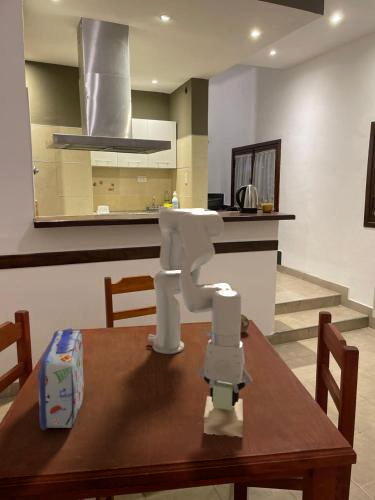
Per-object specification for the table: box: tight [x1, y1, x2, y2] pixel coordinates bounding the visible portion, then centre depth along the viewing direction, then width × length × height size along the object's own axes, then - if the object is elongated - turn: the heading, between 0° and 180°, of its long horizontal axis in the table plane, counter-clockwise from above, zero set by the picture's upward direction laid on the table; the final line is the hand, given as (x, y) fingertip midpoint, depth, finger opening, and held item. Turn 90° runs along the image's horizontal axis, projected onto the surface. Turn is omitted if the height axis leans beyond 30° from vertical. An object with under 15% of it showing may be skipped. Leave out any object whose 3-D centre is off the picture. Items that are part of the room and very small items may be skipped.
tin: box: [240, 313, 250, 334], centre depth 166 cm, size 15×3×8 cm, turn 97°
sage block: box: [213, 381, 233, 410], centre depth 100 cm, size 5×5×6 cm
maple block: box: [203, 395, 244, 438], centre depth 101 cm, size 10×10×5 cm
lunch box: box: [37, 328, 85, 431], centre depth 107 cm, size 28×10×22 cm, turn 12°
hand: (224, 400), depth 101 cm, fingers closed on sage block, 4 cm apart
